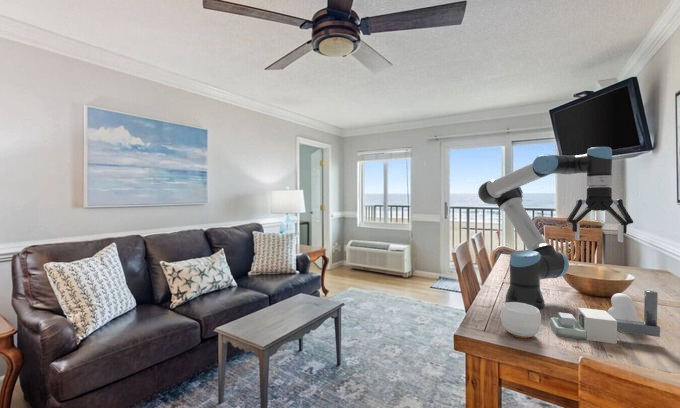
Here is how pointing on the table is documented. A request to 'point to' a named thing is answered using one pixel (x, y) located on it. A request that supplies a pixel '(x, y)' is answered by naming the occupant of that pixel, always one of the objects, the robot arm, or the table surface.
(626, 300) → the figurine
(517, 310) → the white faceted bowl
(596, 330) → the housing
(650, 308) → the grey l-shaped bracket
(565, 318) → the block
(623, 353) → the table surface
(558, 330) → the tray
